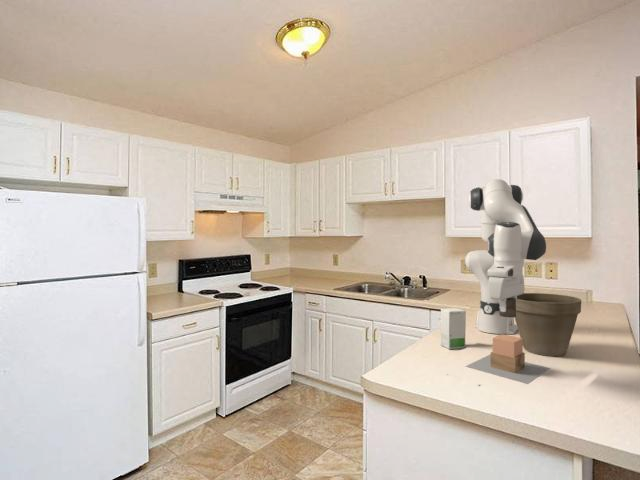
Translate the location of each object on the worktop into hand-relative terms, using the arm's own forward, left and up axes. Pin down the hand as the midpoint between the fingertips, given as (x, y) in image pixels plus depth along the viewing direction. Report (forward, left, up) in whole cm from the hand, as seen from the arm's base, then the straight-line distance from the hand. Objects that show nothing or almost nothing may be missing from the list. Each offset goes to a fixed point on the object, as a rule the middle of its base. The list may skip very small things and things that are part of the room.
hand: (507, 310), depth 126 cm
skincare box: (-12, -27, -21) cm, 36 cm away
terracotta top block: (0, 0, -15) cm, 15 cm away
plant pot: (-34, 0, -21) cm, 40 cm away
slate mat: (0, 0, -21) cm, 21 cm away
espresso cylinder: (0, 0, -2) cm, 2 cm away
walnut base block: (0, 0, -20) cm, 20 cm away
